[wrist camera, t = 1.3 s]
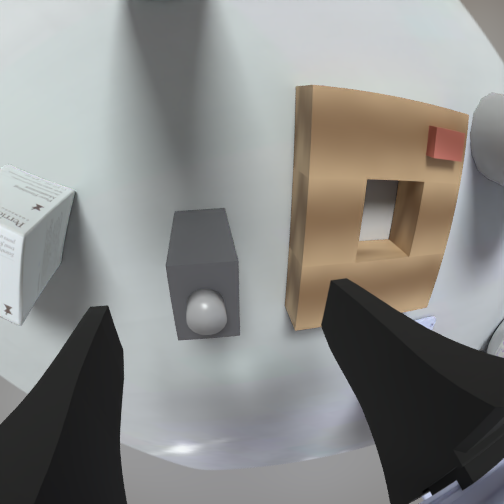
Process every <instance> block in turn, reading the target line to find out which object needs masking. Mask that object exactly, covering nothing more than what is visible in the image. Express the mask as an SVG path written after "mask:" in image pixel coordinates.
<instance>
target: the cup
mask: <svg viewBox="0 0 504 504" xmlns="http://www.w3.org/2000/svg"><path fill="white" fill-rule="evenodd" d="M470 139H471V151H472V156H473V159H474V161H475V164H476V167H477V169H478V171H479V172H480V173H481V174H483V175H484V176H485V177H486V178H487V179H489V180H491V181H493V182H496V183H498V184H500V185H502V186H504V95H503V94H497V93H490V94H489V95H487V96H485V97H483V98H482V99H481V100H480V102H479V104H478V106H477V108H476V110H475V112H474V114H473V120H472V126H471V131H470Z"/></svg>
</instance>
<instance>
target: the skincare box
mask: <svg viewBox="0 0 504 504" xmlns="http://www.w3.org/2000/svg"><path fill="white" fill-rule="evenodd" d="M74 195H75V190H74V189H72V188H69V187H66V186H63V185H60V184H57V183H54V182H51V181H48V180H46V179H43V178H40V177H38V176H35V175H33V174H30V173H28V172H26V171H24V170H21V169H19V168H17V167H15V166H13V165H5V166H4V167H2V168H0V317H2V318H4V319H6V320H8V321H10V322H12V323H14V324H17V325H19V326H21V325H22V324H23V323H24V321H25V319H26V317H27V316H28V314H29V312H30V310H31V309H32V307H33V305H34V303H35V302H36V300H37V299H38V297H39V295H40V294H41V292H42V291H43V289H44V287H45V286H46V284H47V283H48V281H49V280H50V278H51V277H52V276H53V274H54V273H55V271H56V270H57V268H58V267H59V266H60V264H61V260H62V253H63V247H64V241H65V236H66V230H67V226H68V221H69V216H70V211H71V207H72V203H73V199H74Z"/></svg>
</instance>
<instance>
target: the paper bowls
mask: <svg viewBox="0 0 504 504" xmlns="http://www.w3.org/2000/svg"><path fill="white" fill-rule="evenodd" d="M487 353H488V354H491V355H495V356H499V357H502V358H504V320H503V321H502V323H501V324H500V325H499V327H498V328H497V330H496V331H495V333H494V334H493V336H492V338H491V340H490V342H489V345H488V349H487Z"/></svg>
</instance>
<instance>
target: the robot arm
mask: <svg viewBox="0 0 504 504" xmlns="http://www.w3.org/2000/svg"><path fill="white" fill-rule="evenodd" d="M435 322H436V318H435V317H434V316H431V317H427V318H423V319H418V320H412V319H411V318H409V317H407V316H406V315H404V314H402V313H401V312H399V311H398V310H396V309H394V308H393V307H391V306H390V305H388V304H387V303H385V302H384V301H382V300H380V299H379V298H377V297H376V296H374V295H373V294H371V293H370V292H368V291H367V290H365V289H364V288H362V287H360V286H359V285H357V284H356V283H354V282H352V281H351V280H349V279H347V278H344V279H337V280H331V281H330V286H329V291H328V296H327V300H326V305H325V310H324V314H323V319H322V323H321V326H322V329H323V332H324V334H325V337H326V340H327V342H328V345H329V347H330V350H331V352H332V353H333V355H334V357H335V359H336V361H337V363H338V364H339V366H340V368H341V370H342V372H343V374H344V375H345V377H346V379H347V381H348V383H349V384H350V386H351V388H352V390H353V392H354V393H355V395H356V397H357V399H358V401H359V403H360V405H361V407H362V409H363V412H364V414H365V417H366V420H367V422H368V425H369V427H370V430H371V433H372V436H373V438H374V441H375V444H376V447H377V450H378V454H379V457H380V460H381V464H382V467H383V471H384V475H385V480H386V484H387V489H388V494H389V499H390V503H391V504H409V503H411V502H413V501H415V500H416V499H418V498H420V497H422V498H423V500H424V501H423V502H421V503H419V504H504V358H502V357H499V356H495V355H491V354H488V353H485V352H482V351H479V350H476V349H473V348H470V347H468V346H465V345H463V344H460V343H458V342H455V341H453V340H451V339H448V338H446V337H444V336H442V335H440V334H438V333H436V332H434V331H432V329H433V327H434V324H435ZM123 383H124V359H123V348H122V346H121V343H120V340H119V337H118V334H117V331H116V329H115V326H114V323H113V320H112V317H111V313H110V310H109V307H108V306H96V307H90V308H89V309H88V311H87V312H86V313H85V315H84V316H83V318H82V319H81V321H80V322H79V324H78V325H77V327H76V328H75V330H74V331H73V333H72V334H71V336H70V337H69V339H68V340H67V342H66V343H65V345H64V346H63V347H62V349H61V350H60V352H59V353H58V355H57V356H56V358H55V359H54V361H53V362H52V363H51V365H50V366H49V368H48V369H47V370H46V372H45V373H44V375H43V376H42V377H41V379H40V380H39V381H38V383H37V384H36V385H35V386H34V388H33V389H32V390H31V391H30V393H29V394H28V395H27V396H26V397H25V399H24V400H23V401H22V402H21V403H20V404H19V405H18V407H17V408H16V409H15V410H14V411H13V412H12V413H11V414H10V415H9V416H8V417H7V418H6V419H5V420H4V421H3V422H2V423H1V424H0V504H127V501H126V495H125V489H124V482H123V475H122V466H121V456H120V424H121V408H122V395H123Z"/></svg>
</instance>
